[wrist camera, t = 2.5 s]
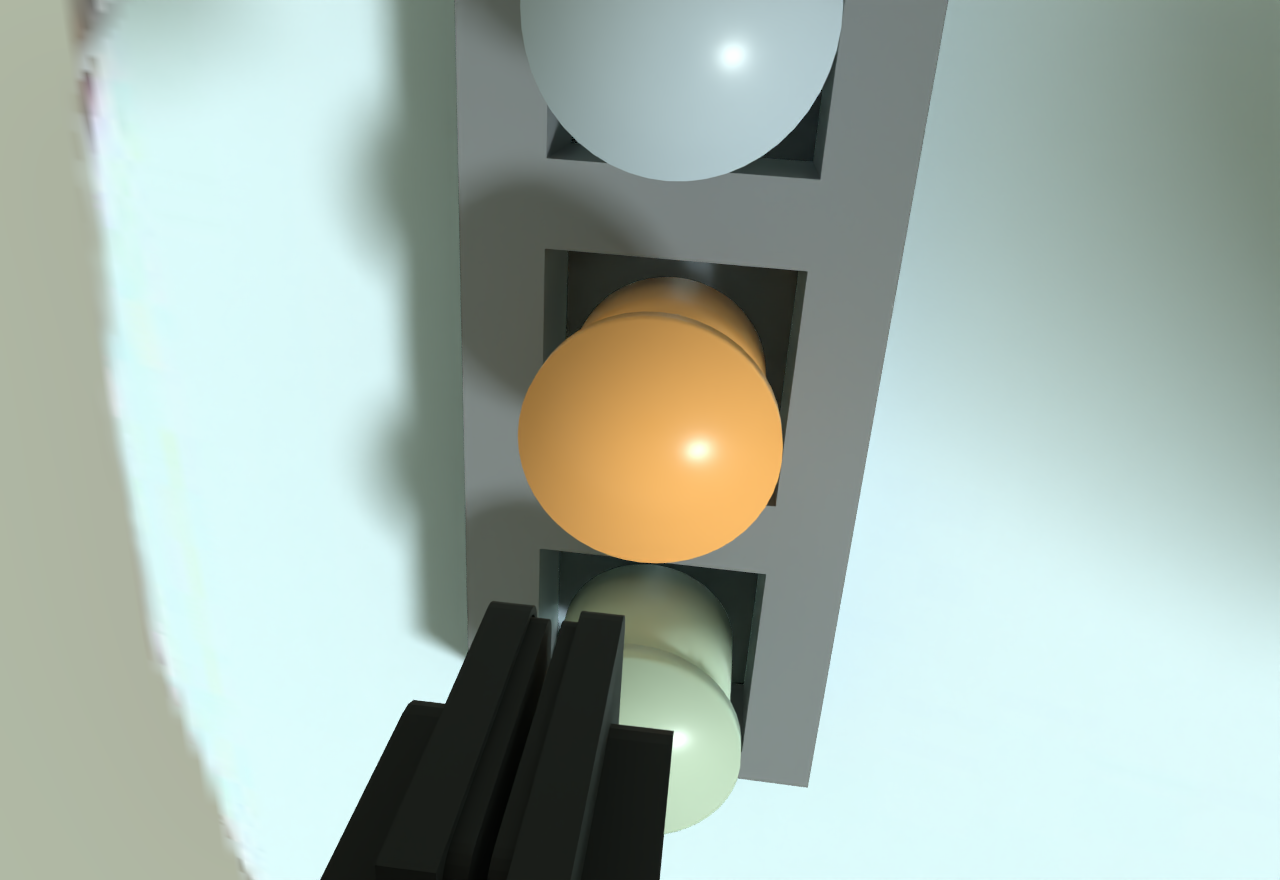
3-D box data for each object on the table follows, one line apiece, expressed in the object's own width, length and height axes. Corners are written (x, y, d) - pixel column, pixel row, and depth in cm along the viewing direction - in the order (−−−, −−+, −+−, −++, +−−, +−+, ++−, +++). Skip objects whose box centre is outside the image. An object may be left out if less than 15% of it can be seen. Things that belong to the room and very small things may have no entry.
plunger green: (753, 566, 25) (752, 675, 21) (733, 723, 27) (729, 850, 23) (556, 544, 25) (516, 646, 21) (552, 700, 28) (515, 820, 23)
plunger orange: (791, 274, 22) (799, 333, 17) (764, 480, 24) (766, 576, 20) (563, 254, 22) (518, 308, 18) (558, 459, 24) (517, 548, 20)
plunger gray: (842, -123, 18) (867, -167, 14) (806, 159, 21) (818, 192, 16) (573, -137, 19) (520, -184, 15) (566, 140, 21) (518, 169, 17)
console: (953, -173, 20) (984, -206, 17) (803, 717, 29) (807, 787, 27) (490, -195, 20) (449, -229, 18) (496, 678, 30) (470, 743, 28)
